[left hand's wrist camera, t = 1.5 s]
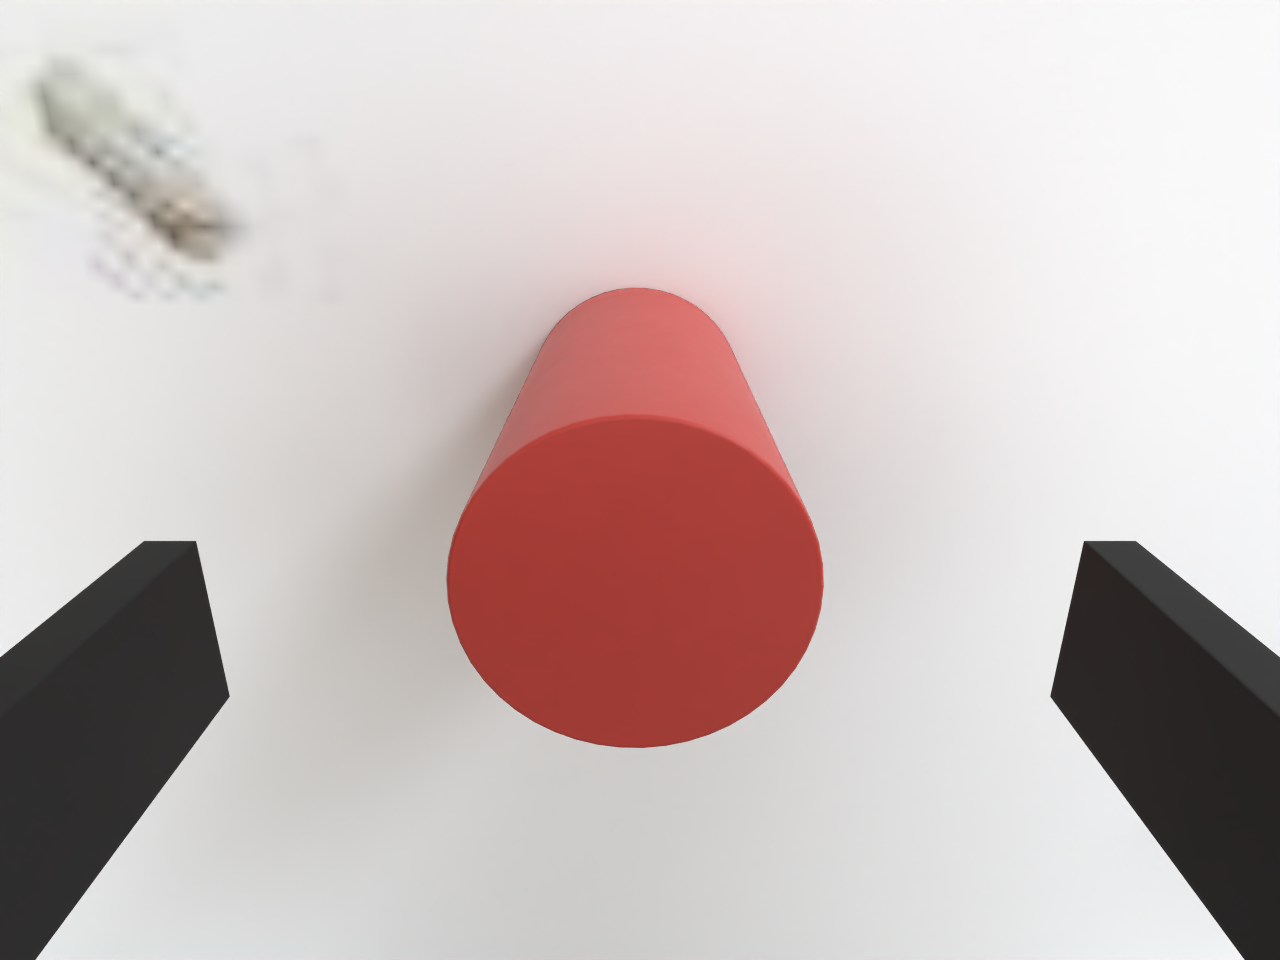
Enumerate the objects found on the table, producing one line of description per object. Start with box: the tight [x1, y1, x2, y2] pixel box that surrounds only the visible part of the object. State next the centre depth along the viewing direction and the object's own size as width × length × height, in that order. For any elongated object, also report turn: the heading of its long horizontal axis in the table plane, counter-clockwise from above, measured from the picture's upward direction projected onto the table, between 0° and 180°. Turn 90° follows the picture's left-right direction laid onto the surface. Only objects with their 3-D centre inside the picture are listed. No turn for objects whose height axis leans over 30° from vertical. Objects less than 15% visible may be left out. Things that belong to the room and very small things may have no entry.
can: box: [446, 288, 824, 748], centre depth 20 cm, size 6×6×12 cm
